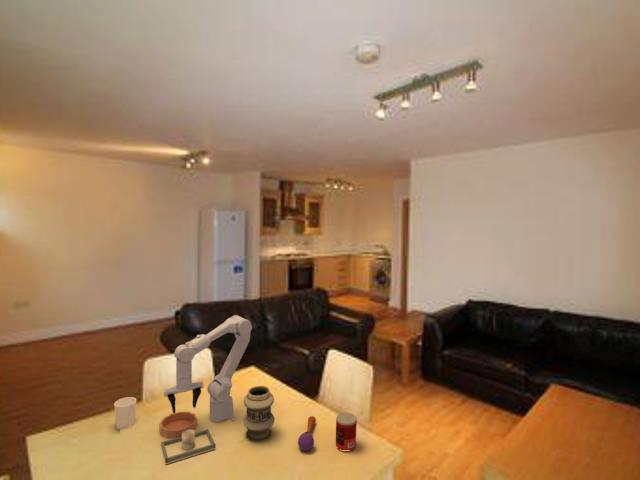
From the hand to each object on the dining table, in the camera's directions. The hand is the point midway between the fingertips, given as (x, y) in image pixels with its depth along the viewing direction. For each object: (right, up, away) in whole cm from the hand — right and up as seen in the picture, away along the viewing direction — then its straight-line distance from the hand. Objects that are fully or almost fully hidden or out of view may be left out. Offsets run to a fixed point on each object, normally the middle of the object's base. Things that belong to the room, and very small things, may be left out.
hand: (184, 409), depth 142 cm
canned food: (+64, -11, -6) cm, 65 cm away
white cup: (-26, -9, +4) cm, 27 cm away
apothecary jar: (+30, -10, 0) cm, 31 cm away
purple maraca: (+49, -11, -1) cm, 51 cm away
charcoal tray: (+5, -10, -10) cm, 15 cm away
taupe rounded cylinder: (+5, -9, -10) cm, 15 cm away
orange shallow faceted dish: (-3, -9, +2) cm, 10 cm away
